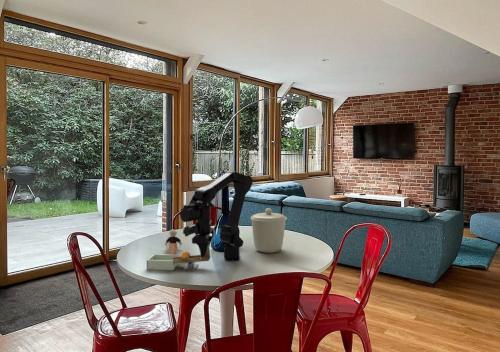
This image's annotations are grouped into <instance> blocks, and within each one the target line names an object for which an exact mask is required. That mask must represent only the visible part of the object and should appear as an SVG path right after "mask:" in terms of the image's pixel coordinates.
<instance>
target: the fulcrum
mask: <svg viewBox="0 0 500 352" xmlns="http://www.w3.org/2000/svg"><path fill="white" fill-rule="evenodd" d="M198 266H199V264H197V263H196V264H195V262H191V263H190V264H189V263H186V264H185V266H184V267H183V268H182V269H183V271H184V270H185V271H195V270H197V268H198Z"/></svg>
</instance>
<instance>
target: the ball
mask: <svg viewBox="0 0 500 352" xmlns="http://www.w3.org/2000/svg"><path fill="white" fill-rule="evenodd" d="M180 255H181V256H180V257H182V259H187V258H189V257H190V256H191V254H190V252H189V251H187V250H184V251H183V252H181V254H180Z"/></svg>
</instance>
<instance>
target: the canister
mask: <svg viewBox="0 0 500 352" xmlns="http://www.w3.org/2000/svg"><path fill="white" fill-rule="evenodd" d="M287 219H288V218H287V216H286V215H283V213H277V212H273V209H272V208H270V207H268V208H265V210H264V212H260V213H259V212H258V213H254V214H253V215H251V216H250V220H251V226H252V227H251V228H252V236H253V242H254V243H253V244H254V247H255V250H256V251H258V252H260V253H265V254H270V253H272V254H274V253H277V252H280V251H281V250H282V248H283V244H284V238H285V237H284V236H285V230H286V229H285V228H286V220H287Z"/></svg>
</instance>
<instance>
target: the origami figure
mask: <svg viewBox="0 0 500 352" xmlns="http://www.w3.org/2000/svg"><path fill="white" fill-rule="evenodd" d="M165 243H166V241H165V242H164V246H165V250H166V251H167V252H169V243H170V242H168V244H167V245H165ZM176 243H177V244H178V245H177V250H180V248H179V247H181V246H182V244H181V245H180V243H179V242H176Z"/></svg>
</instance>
